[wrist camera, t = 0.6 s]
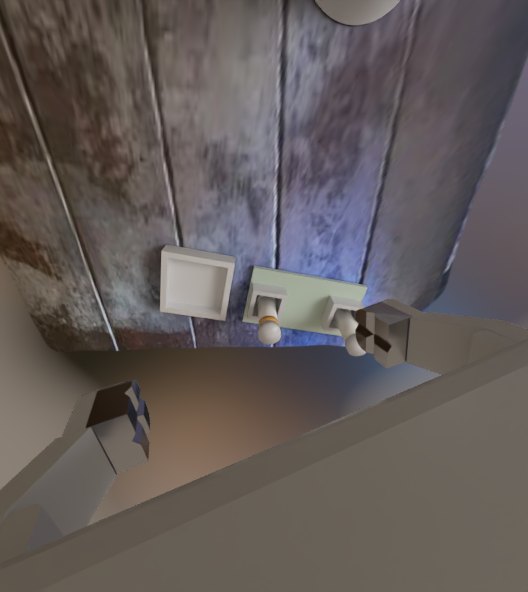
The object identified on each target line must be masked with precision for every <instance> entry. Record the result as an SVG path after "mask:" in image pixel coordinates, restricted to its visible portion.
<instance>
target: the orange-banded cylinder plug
mask: <svg viewBox="0 0 528 592" xmlns="http://www.w3.org/2000/svg"><path fill="white" fill-rule="evenodd" d="M257 306H258V317H259V327H258V338H259V340H260V341H261V342H262V343H264V344H274V343H276V342H278V341H279V339H280V338H281V331H280V326H279V324H278V319H277V312H276V299H275V298H273V297H267V296H261V295H258V296H257Z"/></svg>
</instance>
